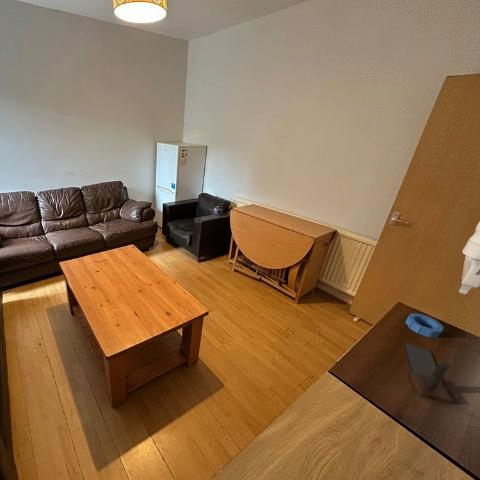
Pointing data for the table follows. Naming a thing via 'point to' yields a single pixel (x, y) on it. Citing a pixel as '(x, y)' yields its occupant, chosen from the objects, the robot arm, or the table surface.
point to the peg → (432, 384)
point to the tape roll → (422, 330)
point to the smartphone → (420, 360)
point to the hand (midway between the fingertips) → (462, 286)
